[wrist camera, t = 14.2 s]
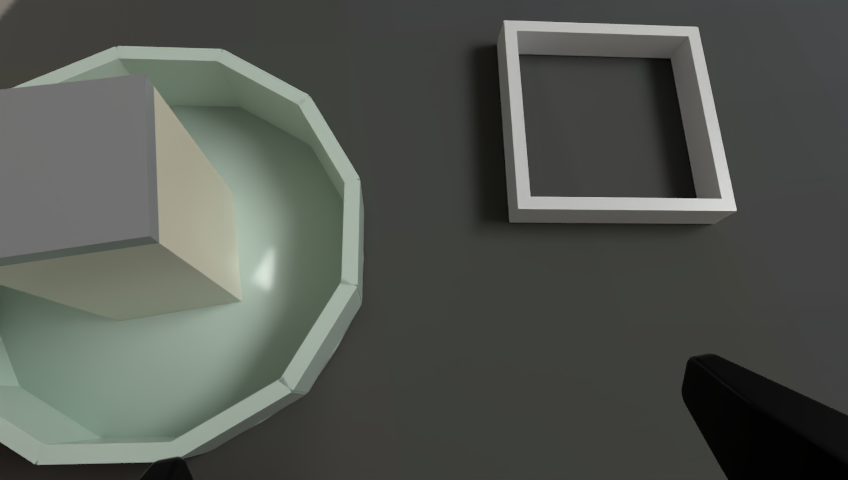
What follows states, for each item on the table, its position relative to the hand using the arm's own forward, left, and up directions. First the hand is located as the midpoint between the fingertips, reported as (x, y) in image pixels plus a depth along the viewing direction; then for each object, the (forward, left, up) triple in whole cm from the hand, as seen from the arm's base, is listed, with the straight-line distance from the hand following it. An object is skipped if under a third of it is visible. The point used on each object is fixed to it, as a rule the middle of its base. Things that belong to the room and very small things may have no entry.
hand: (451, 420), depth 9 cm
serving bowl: (+7, +10, -14) cm, 18 cm away
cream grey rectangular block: (+7, +10, -13) cm, 18 cm away
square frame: (+14, -10, -14) cm, 22 cm away
